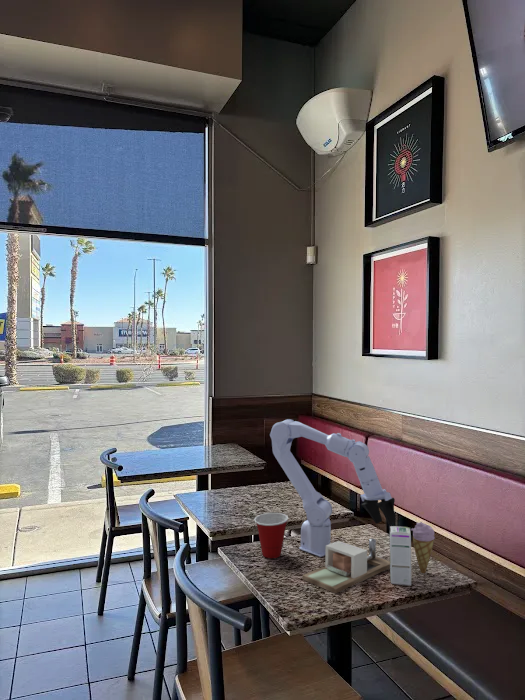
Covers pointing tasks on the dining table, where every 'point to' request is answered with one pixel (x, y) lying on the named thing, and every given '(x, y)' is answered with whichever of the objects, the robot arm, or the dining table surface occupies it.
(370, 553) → the sled
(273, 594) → the dining table surface
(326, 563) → the tunnel
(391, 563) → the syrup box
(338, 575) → the frame
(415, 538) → the ice cream cone
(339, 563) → the terracotta block
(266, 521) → the plastic cup
